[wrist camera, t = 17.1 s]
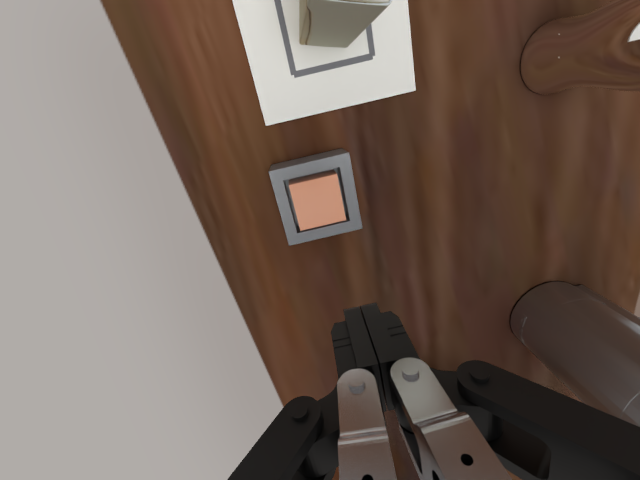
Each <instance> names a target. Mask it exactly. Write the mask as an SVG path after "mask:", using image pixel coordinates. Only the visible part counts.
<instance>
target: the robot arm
mask: <svg viewBox="0 0 640 480" xmlns="http://www.w3.org/2000/svg"><path fill="white" fill-rule="evenodd" d="M360 310H361V311H360ZM344 315H345V320H346V321H343V322H339V323H334V326H333V328H332V331H331V335H332V341H333V347H334V353H335V359H336V365H337V371H338V383H337V385H336V387H335V388H334V390H333V391H332V392H331V393H330V394H329V395H327V396H325V397H324V398H322V399H320V400H318V401H316V400H315V399H314V398H312V397H309V396H301V397H297V398H295V399H293V400H291V401H290V402H288V403H287V404H286V405H285V406H284V408H283V409H282V410H281V412H280V413H279V414H278V415H277V417H276V418H275V419H274V421H273V422H272V423H271V424H270V426H269V427H268V428H267V430H266V431H265V432H264V434H263V435H262V436H261V437H260V439H259V440H258V441H257V442H256V444H255V445H254V446H253V447H252V449H251V450H250V451H249V453H248V454H247V455H246V457H245V458H244V459H243V460H242V462H241V463H240V464H239V465H238V467H237V468H236V469H235V471H234V472H233V473H232V474H231V476H230V477H229V478H228V480H332V478H333V476H334V474H335V470H336V467H338V466H339V480H397V479H396V474H395V469H394V464H393V460H392V455H391V450H390V445H389V440H388V435H387V431H386V423H385V417H384V412H385V411H386V405H387V408H388V411H389V410H394V409H395V412H396V415H397V418H398V424H399V429H400V432H401V434H402V437H403V439H404V442H405V444H406V446H407V449H408V451H409V454H410V456H411V458H412V461H413V463H414V465H415V468H416V470H417V473H418V475H419V477H420V480H512V478H511V477H510V475H509V474H508V472H507V471H506V470H508V471H509V472H511V473H512V474H514V475H516V476H517V477H519V478H520V479H522V480H640V318H639V317H637V316H635V315H634V314H632V313H630V312H629V311H627V310H625V309H623V308H622V307H620V306H618V305H616V304H615V303H613V302H611V301H610V300H608V299H606V298H604V297H603V296H601V295H599V294H597V293H596V292H594V291H592V290H591V289H589V288H587V287H585V286H584V285H579V286H573V285H571V284H569V283H566V282H560V281H559V282H549V283H545V284H542V285H540V286H537V287H535V288H534V289H532V290H530V291H529V292H528V293H527V294H525V295H524V296H523V297H522V298H521V299H520V300H519V302H518V303H517V304H516V306H515V308H514V310H513V312H512V315H511V321H510V324H511V329H512V331H513V333H514V335H515V336H516V337H517V338H518V339H519V340H520V341H521V342H522V343H523V344H524V345H525V346H526V347H527V348H528V349H529V350H530V351H531V352H532V353H533V354H534V355H535V356H536V357H537V358H538V359H539V360H540V361H541V362H542V363H543V364H544V365H545V366H546V367H547V368H548V369H549V370H550V371H551V372H552V373H554V374H555V375H556V376H557V377H558V378H559V379H560V380H561V381H562V382H563V383H564V384H565V385H566V386H567V387H568V388H569V389H570V390H571V391H572V392H573V393H574V394H575V395H576V396H577V397H578V398H579V399H580V400H581V401H582V402H583V403H582V402H579V401H577V400H574V399H572V398H570V397H567V396H565V395H563V394H560V393H558V392H555V391H553V390H551V389H548V388H546V387H544V386H541V385H539V384H537V383H534V382H532V381H529V380H527V379H525V378H522V377H520V376H518V375H515V374H513V373H510V372H508V371H506V370H503V369H501V368H499V367H496V366H494V365H491V364H489V363H486V362H483V361H477V360H473V361H467V362H464V363H463V364H461V365H460V366H459V367H458V369H457V372H453V371H440V370H436V369H433V368H430V367H429V366H428V365H427V364H426V363H425V362H423V361H422V360H420V358H419V356H418V354H417V352H416V350H415V348H414V346H413V344H412V342H411V341H410V339H409V337H408V335H407V333H406V331H405V329H404V327H403V325H402V323H401V321H400V319H399V317H398V316H396V315H395V314H393V313H392V312H391V311H389V312H384V313H380V310H379V308H378V306H377V304H376V303H372V304H367V305H362V306H360V308H359V306H358V307H354V308H349V309H344ZM385 402H386V405H385Z"/></svg>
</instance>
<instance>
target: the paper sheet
mask: <svg viewBox="0 0 640 480" xmlns="http://www.w3.org/2000/svg"><path fill="white" fill-rule="evenodd" d="M232 1H233V5H234V9H235V12H236V16H237V20H238V24H239V27H240V31H241V35H242V39H243V42H244V46H245V50H246V54H247V57H248V61H249V65H250V68H251V72H252V76H253V80H254V83H255V87H256V91H257V95H258V98H259V102H260V106H261V110H262V113H263V117H264V121H265V124H266V126H268V125H272V124H277V123H281V122H285V121H289V120H294V119H298V118H302V117H306V116H310V115H315V114H319V113H323V112H327V111H332V110H336V109H340V108H344V107H348V106H353V105H357V104H361V103H365V102H370V101H374V100H378V99H382V98H387V97H391V96H395V95H399V94H403V93H408V92H412V91H416V87H415V76H414V65H413V54H412V43H411V32H410V21H409V10H408V0H392V2H391V4H390V5H389V6H388V7H387V8H386V9H385V10H384V11H383V12H382V13H381V14H380V15H379V16H378V17H377V18H376V19H375V20H374V21H373V22H372V23H371V24H370V25H369V26H368V27H367V28H366V29H365V30H364V31H363V32H362V33H361V34H360V35H359V36H358V37H357V38H356V39H355V40H354V41H353V42H352V43H351V44H350V45H349V46H348V47H346V48H340V47H323V46H311V45H301V44H300V43H299V0H232Z"/></svg>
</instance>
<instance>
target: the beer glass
mask: <svg viewBox="0 0 640 480" xmlns="http://www.w3.org/2000/svg"><path fill="white" fill-rule="evenodd" d="M520 67H521V75H522V79H523V81H524V83H525V85H526V86H527V87H528V88H529V89H530V90H531V91H533V92H535V93H538V94H543V95H547V94H553V93H557V92H560V91H563V90H566V89H569V88H573V87H583V86H585V87H595V88H603V89H611V90H619V91H631V92H640V0H612V1H610V2H608V3H607V4H605V5H603V6H601V7H599V8H597V9H596V10H594V11H592V12H589V13H587V14H584V15H580V16H574V17H564V18H558V19H555V20H552V21H549V22H547V23H546V24H544V25H543V26H541V27H540V28H539V29H537V30H536V31H535V32H534V34H533V35H532V36H531V37H530V39H529V40H528V42H527V44H526V46H525V48H524V51H523V54H522V57H521V66H520Z"/></svg>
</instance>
